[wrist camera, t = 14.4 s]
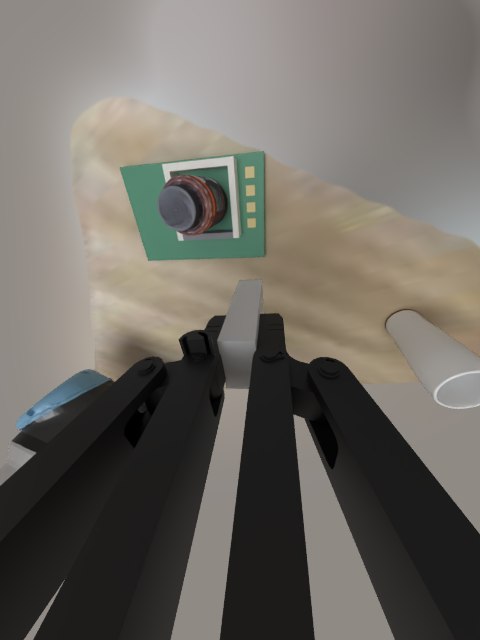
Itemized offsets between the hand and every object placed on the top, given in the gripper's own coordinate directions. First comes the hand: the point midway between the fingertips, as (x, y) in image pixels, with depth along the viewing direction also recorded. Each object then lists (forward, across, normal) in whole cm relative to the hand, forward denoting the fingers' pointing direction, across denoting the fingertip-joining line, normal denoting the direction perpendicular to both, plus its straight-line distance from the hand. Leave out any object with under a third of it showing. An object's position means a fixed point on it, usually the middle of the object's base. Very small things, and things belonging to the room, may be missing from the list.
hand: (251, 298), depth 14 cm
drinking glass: (+22, +24, -16) cm, 36 cm away
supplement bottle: (+21, -8, +6) cm, 23 cm away
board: (+22, -10, +4) cm, 24 cm away
